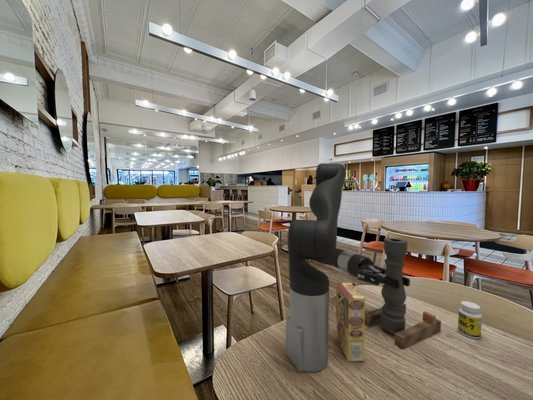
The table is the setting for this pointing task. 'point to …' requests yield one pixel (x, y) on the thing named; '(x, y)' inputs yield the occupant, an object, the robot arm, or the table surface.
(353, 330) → the candy box
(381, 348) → the table surface
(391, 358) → the table surface
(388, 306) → the candle holder
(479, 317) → the supplement bottle
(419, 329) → the guide rails
